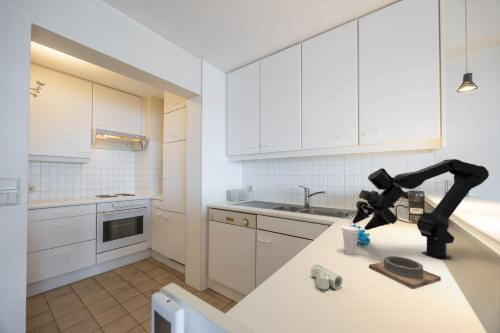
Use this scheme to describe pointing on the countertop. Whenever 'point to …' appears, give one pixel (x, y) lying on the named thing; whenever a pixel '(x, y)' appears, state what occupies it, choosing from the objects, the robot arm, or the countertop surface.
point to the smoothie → (350, 238)
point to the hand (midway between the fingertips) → (358, 225)
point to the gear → (363, 236)
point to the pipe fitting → (325, 278)
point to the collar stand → (405, 271)
